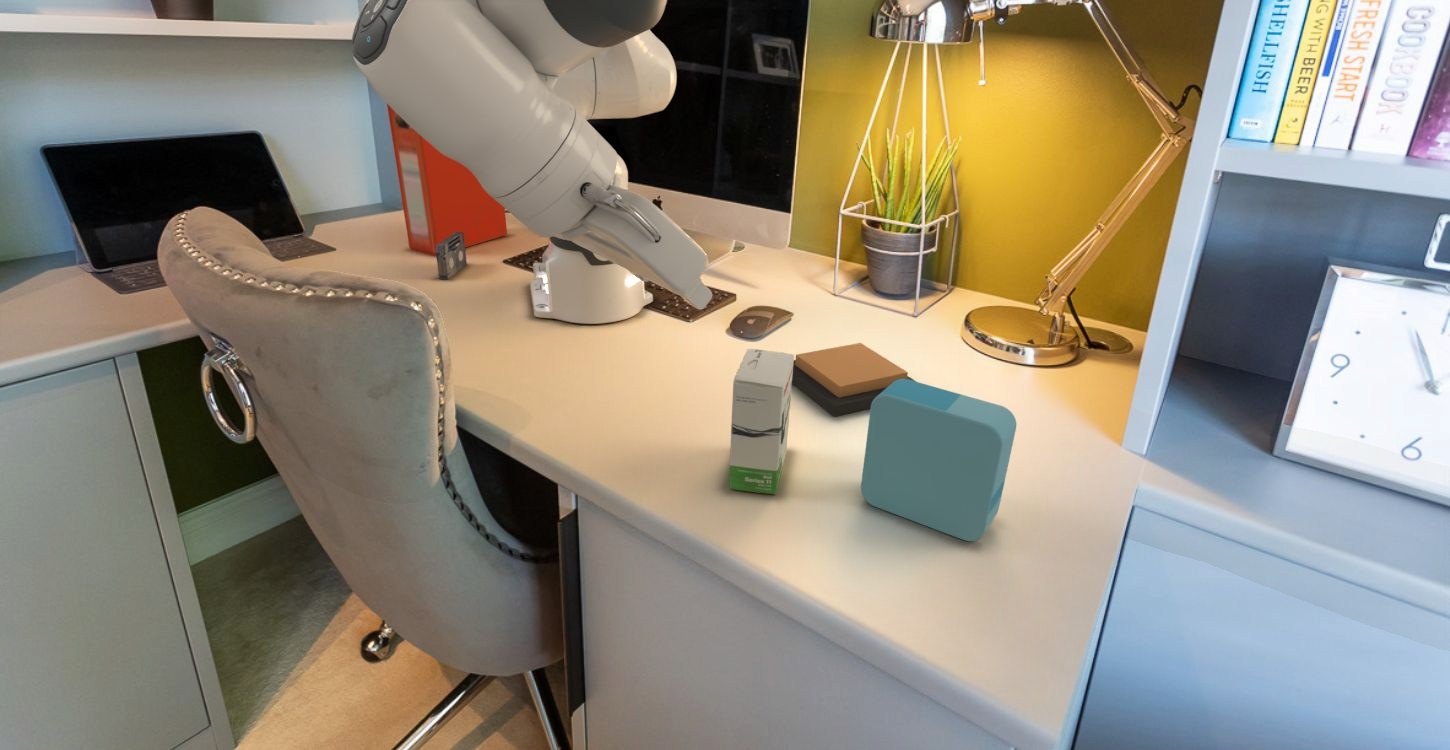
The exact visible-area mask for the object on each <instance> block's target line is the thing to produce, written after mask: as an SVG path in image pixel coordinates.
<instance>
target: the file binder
mask: <svg viewBox="0 0 1450 750" xmlns="http://www.w3.org/2000/svg"><path fill="white" fill-rule="evenodd" d="M386 108H387V114H388V120H389V126H390V127H389V128H390V134H391V139H392V145H393V146H392V147H393V151H394V158H395V164H396V170H397V178H398V183H399V190H400V196H401V203H402V209H403V215H404V222H405V228H406V234H407V240H408V246H409V250H410V251H414V252H419V253H423V254H427V255H430V256H431V255H432V256H435V257H436V245H437V244H439V243H440V242H442V241H443V240H445V239H446V238H448V237H449V236H451V235H452V234H454V233H455V232H463V236H464V244H465V248H469V247H471V246H475V245H478V244H482V243H485V242H488V241H491V240H494V239H498V238H501V237H505V236H507V235H508V228H507V227H508V226H507V218H506V209H505V208H504V207H503V206H502V205H501V204H499V203H498V202H497V201H496V200H495V199H494V198H492V197H491V196H490V195H489V194H488V193H487V192H486V191H485V190H484V188H483V187H482V186H481V184H480V182H479V181H478V179H477V178H476V177H475V175H474V174H473V173H472V172H471V171H470V170H469V169H467V168H466V167H465V166H463V165H462V164H460V163H459V162H457V161H455V160H453V159H450V158H448V157H446V156H445V155H443V154H442V153H440V152H439V151H438V150H437V149H436V148H434V147H433V146H432V145H431V144H430V143H429V142H428V141H426V140H425V139H424V138H423V137H422V136H421V135H420V134H418V133H417V132H416V131H415V130H414V129H413V128H412V127H411V126H410V125H409V124H407V123H406V122H405V121H404V120H403V119H402V118H401V117H400V116H399V115H398V114H397V113H396V112H395V111H394V110H393V109H392V108H391V107H390V106H389V105H388V104H387V103H386Z"/></svg>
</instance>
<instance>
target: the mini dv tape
mask: <svg viewBox="0 0 1450 750" xmlns="http://www.w3.org/2000/svg"><path fill="white" fill-rule="evenodd" d="M435 257H436V264H437V272H438V279H439V280H450V279H451V278H452V277H454V276H455V275H456V274H458V273H459V272H460V271H461V270H463V269H465V267H467V265H468V262H467V254H466V247H465V244H464V236H463V232H455V233H454V234H452V235H451V236H449V237H448V238H446V239H445V240H443V241H442V242H440V243H439V244H437V245H436V256H435Z"/></svg>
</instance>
